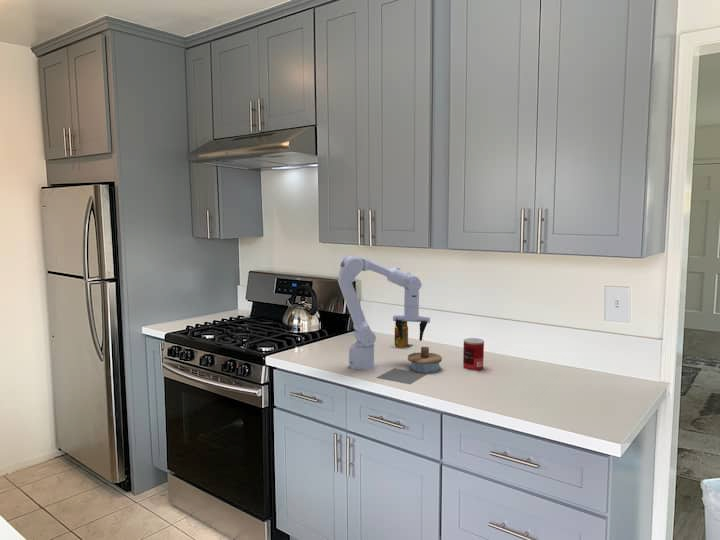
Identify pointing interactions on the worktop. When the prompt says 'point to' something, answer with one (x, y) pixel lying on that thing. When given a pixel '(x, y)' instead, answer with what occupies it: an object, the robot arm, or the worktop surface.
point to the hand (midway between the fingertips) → (411, 339)
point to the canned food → (473, 353)
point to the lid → (424, 357)
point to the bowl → (425, 367)
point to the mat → (401, 376)
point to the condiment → (404, 341)
